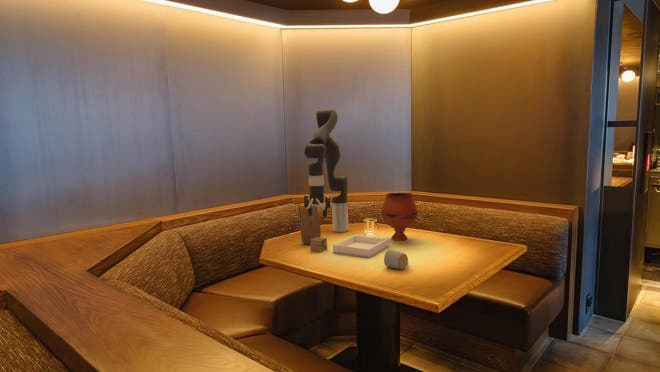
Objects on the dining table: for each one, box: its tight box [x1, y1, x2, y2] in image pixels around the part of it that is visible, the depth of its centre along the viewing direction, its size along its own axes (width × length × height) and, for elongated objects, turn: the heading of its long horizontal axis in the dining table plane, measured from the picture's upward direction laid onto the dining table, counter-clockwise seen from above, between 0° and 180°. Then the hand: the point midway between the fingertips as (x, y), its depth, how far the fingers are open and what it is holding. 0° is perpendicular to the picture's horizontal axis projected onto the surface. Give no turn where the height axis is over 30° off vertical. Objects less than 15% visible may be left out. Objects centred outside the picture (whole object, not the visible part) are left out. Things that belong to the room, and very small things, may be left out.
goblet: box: [381, 192, 418, 241], centre depth 231 cm, size 19×19×25 cm
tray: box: [332, 234, 390, 259], centre depth 213 cm, size 22×20×4 cm
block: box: [300, 205, 322, 245], centre depth 230 cm, size 11×8×20 cm
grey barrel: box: [383, 248, 409, 270], centre depth 184 cm, size 11×8×8 cm
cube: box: [309, 236, 328, 253], centre depth 215 cm, size 6×6×6 cm
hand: (317, 216), depth 213 cm, fingers open, 8 cm apart
